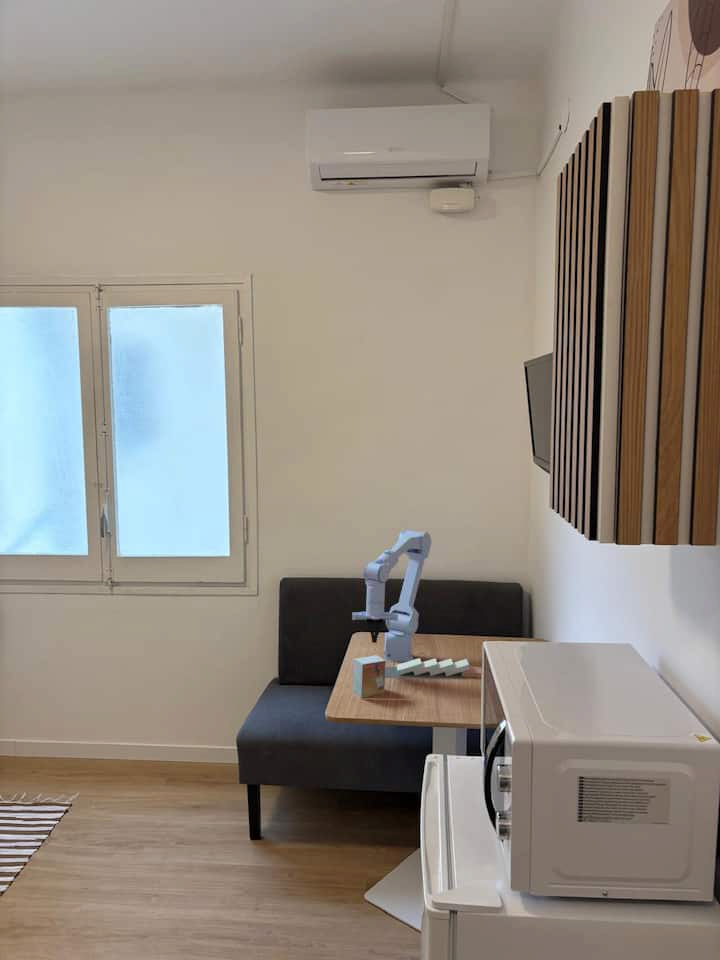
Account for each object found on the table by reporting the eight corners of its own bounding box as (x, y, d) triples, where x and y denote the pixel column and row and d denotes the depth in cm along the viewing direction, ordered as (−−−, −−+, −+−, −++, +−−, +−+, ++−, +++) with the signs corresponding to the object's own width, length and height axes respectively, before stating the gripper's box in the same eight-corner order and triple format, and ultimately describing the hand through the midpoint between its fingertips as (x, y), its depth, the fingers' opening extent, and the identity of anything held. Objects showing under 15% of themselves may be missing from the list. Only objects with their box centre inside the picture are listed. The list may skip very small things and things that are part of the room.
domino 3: (429, 671, 218) (453, 664, 217) (427, 665, 223) (451, 658, 222) (430, 675, 218) (454, 668, 218) (429, 670, 223) (452, 662, 223)
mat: (380, 678, 215) (380, 677, 215) (378, 668, 224) (378, 666, 224) (465, 680, 216) (465, 679, 216) (460, 669, 225) (460, 668, 225)
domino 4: (445, 671, 218) (469, 664, 218) (442, 666, 223) (466, 658, 222) (446, 676, 218) (470, 669, 218) (444, 670, 223) (467, 663, 223)
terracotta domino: (462, 671, 218) (486, 673, 218) (459, 665, 223) (483, 667, 223) (461, 676, 218) (486, 678, 218) (458, 670, 223) (483, 672, 223)
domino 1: (397, 670, 217) (421, 663, 217) (396, 664, 222) (420, 657, 222) (399, 675, 217) (423, 668, 217) (397, 669, 222) (421, 662, 222)
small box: (361, 699, 200) (362, 664, 199) (352, 692, 204) (353, 658, 203) (384, 694, 203) (386, 660, 202) (375, 687, 208) (376, 654, 207)
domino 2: (413, 671, 217) (437, 663, 217) (411, 665, 222) (435, 658, 222) (414, 675, 218) (438, 668, 217) (413, 669, 223) (436, 662, 222)
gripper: (352, 603, 213) (351, 645, 215) (399, 604, 214) (397, 646, 215) (352, 597, 220) (351, 638, 222) (397, 598, 221) (396, 639, 222)
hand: (374, 641), depth 219 cm, fingers closed
